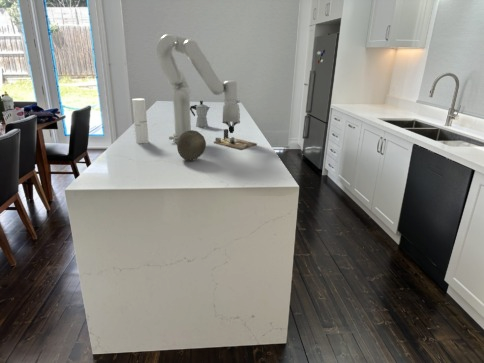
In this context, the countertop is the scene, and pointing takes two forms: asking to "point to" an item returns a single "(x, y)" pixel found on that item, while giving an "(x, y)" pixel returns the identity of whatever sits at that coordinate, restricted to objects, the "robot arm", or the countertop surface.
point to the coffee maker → (200, 114)
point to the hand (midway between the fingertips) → (231, 132)
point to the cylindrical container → (140, 120)
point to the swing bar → (228, 137)
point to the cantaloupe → (191, 145)
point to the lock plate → (235, 143)
